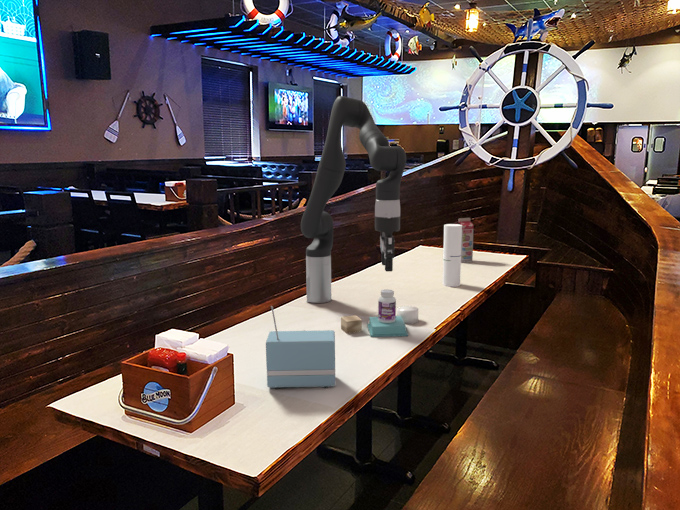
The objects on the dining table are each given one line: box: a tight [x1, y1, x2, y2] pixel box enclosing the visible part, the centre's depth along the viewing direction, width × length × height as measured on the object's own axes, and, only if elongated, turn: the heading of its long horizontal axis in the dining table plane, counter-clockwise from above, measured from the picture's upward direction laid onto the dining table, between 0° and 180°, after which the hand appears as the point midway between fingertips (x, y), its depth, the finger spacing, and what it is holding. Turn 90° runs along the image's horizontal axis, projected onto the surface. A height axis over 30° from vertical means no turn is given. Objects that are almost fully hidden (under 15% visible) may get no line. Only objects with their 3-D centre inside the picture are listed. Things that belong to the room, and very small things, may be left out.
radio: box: [265, 305, 336, 390], centre depth 127 cm, size 16×9×20 cm, turn 91°
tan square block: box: [340, 315, 363, 335], centre depth 166 cm, size 5×5×4 cm
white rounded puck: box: [396, 305, 419, 325], centre depth 175 cm, size 7×7×4 cm
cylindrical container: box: [442, 223, 462, 288], centre depth 221 cm, size 7×7×25 cm
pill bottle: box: [377, 288, 397, 323], centre depth 164 cm, size 5×5×10 cm
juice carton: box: [455, 217, 474, 264], centre depth 270 cm, size 7×7×22 cm
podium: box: [367, 315, 409, 338], centre depth 165 cm, size 11×11×3 cm
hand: (386, 268), depth 162 cm, fingers open, 8 cm apart
